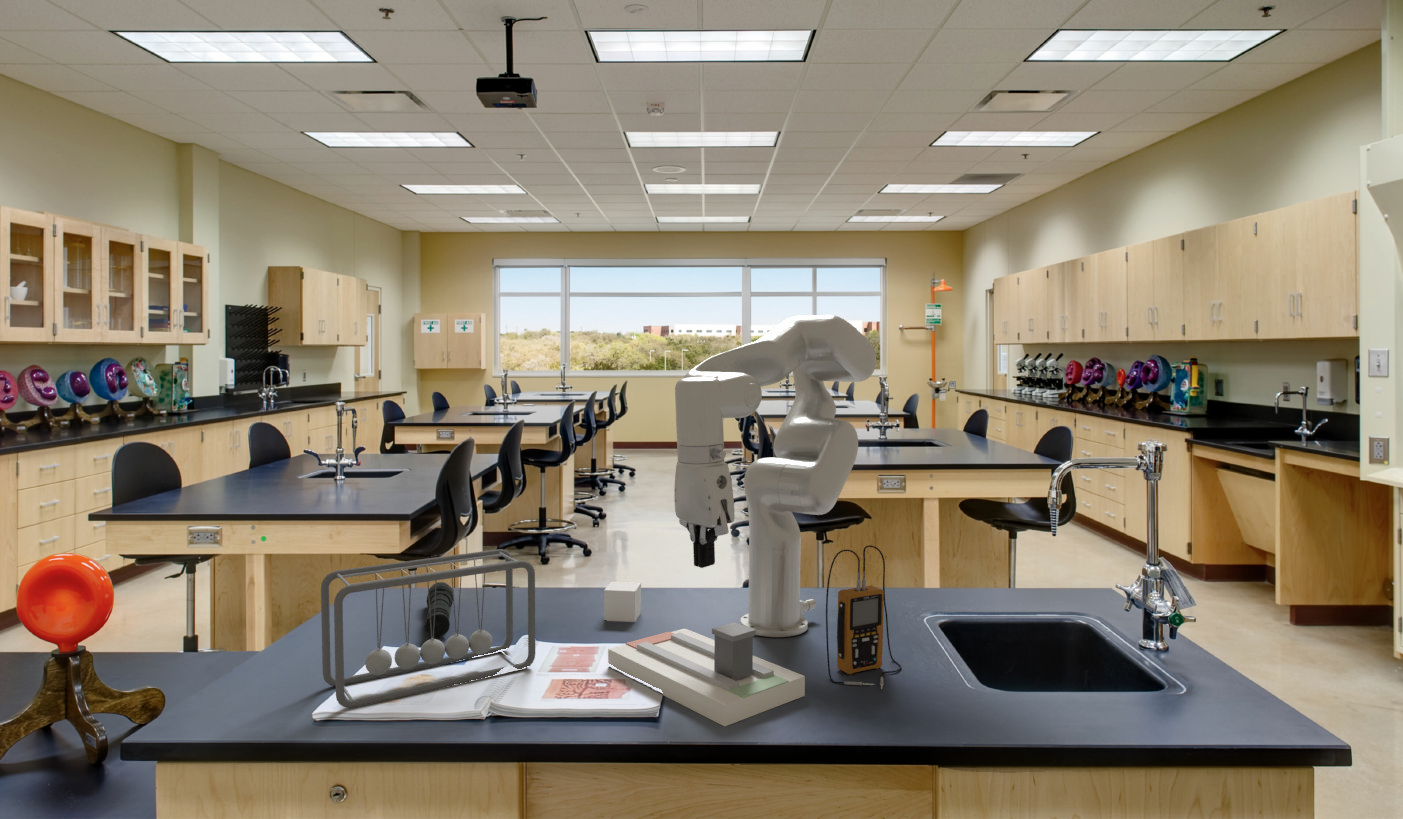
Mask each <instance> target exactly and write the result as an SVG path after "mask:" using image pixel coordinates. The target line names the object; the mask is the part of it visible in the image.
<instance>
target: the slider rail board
mask: <svg viewBox="0 0 1403 819" xmlns="http://www.w3.org/2000/svg"><path fill="white" fill-rule="evenodd" d="M607 650H608V651H607V662H608V663H609V664H611V665H613V666H614V667H616V668H617V669H619V670H621V671H623V672H625V673H627V674H629V675H631V676H633V677H635V678H638V679H640V680H642V681H644V682H646V683H648V684H650V685H652V686H653V687H656V688H659V689H661V690H662V692H663V695H662V696H663V697H666V698H668V699H669V700H672V701H674V702H676V703H678V704H680V705H681V706H684V707H686V708H687V709H689V710H692V711H694V712H695V713H697V714H700V715H701V716H703V717H705V718H707V719H709V720H711V721H713V722H715V723H717V724H719V725H721V726H723V727H727V726H730V725H732V724H733V725H734V724H735V723H737V722H739V721H740V722H741V721H743V720H746V719H748V718H750V717H751V718H752V717H753V716H755V715H759V714H761V713H763V712H766V711H769V710H771V709H775V708H776V707H779V706H782V705H785V704H787V703H789V702H792V701H794V700H797V699H800V698H802V697H805V695H806V694H805V693H806V692H805V691H806V690H805V689H806V687H805V686H806V681H805V680H806V677H805V675H804V674H801V673H798V672H796V671H793V670H790V669H788V668H785V667H783V666H780V665H778V664H776V663H773V662H771V661H767V660H766V659H763V658H761V657H758V656H756V655H753V674H752V675H750V676H748V677H745V678H742V679H739V680H736V681H735V680H733V679H730V678H728V677H726V676H724V675H721V674H719V673H717V672H715V671H714V655H715V639H714V638H710V637H707V636H705V635H703V634H700V633H698V632H694V631H692V630H690V629H687V628H680V629H677V630H673V631H665V632H662V633H659V634H655V635H650V636H647V637H643V638H640V639H636V640H633V641H628V642H625V644H622V645H618V646H614V647H610V648H608V649H607ZM608 663H607V664H608Z"/></svg>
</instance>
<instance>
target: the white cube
mask: <svg viewBox="0 0 1403 819" xmlns="http://www.w3.org/2000/svg"><path fill="white" fill-rule="evenodd" d="M603 594H604V596H603V600H604V602H603V608H604V609H603V610H604V611H603V615H604V616H603V617H604V618H603V621H604V620H607V621H606V622H623V623H624V622H627V623H636V622H637V620H638V618H639V617H640V615H641V614H642V582H631V581H629V582H628V581H625V582H624V581H610V583H609V584H608V585H607V586H606V587H605V588H604V590H603Z"/></svg>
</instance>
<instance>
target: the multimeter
mask: <svg viewBox="0 0 1403 819" xmlns="http://www.w3.org/2000/svg"><path fill="white" fill-rule="evenodd" d="M867 548H874V549H876V550H877V551H878V552H879V554H880V555H881V559H882V566H883V569H882V570H883V571H882V588H880V587H877V586H874V585H872V584H871V585H867V583H866V582H867V581H866V549H867ZM843 552H849V553H853V554H854V556H855V557H856V558H857V567H858V568H857V580H856V587H853V588H847V589H846V588H845V589H840V590H839V591H838V592H837V621H836V622H837V624H836V625H837V627H836V629H837V630H836V631H837V632H836V641H837V642H836V643H837V644H836V645H837V649H836V650H837V654H836V655H837V657H836V658H837V660H836V661H837V662H836V668H837V670H839V671H842V672H843V673H846V674H847V675H853V674H855V673H859V672H865V671H869V670H872V669H874V670H878V669H880V668H881V667H882V666H883V642H884V613H885V624H886V638H887V639H886V640H887V648H888V652H889V656H890V659H891V660H892V661H894V662H893V663H895V664H896V665H897V664H898V665H899V666H898V665H897V666H898V667H899V668H898V669H896V670H891V671H890V670H889V671H882V672H881V673H880V678H879V679H880V680H879V686H880V689H881V690H883V686H884V677H883V675H884V674H892V673H893V674H894V673H897V672H899V671H902V665H901V664H900V663H898V661H896V660H895V659H894V658H893V655H892V651H891V645H890V638H889V637H890V636H889V623H888V611H887V603H886V594H885V593H886V591H885V590H886V586H885V580H886V579H885V576H886V573H885V572H886V564H885V563H886V561H885V558H884V555H883V552H882V551H881V550H880V549H879V548H878V547H877V546H874V545H866V546H865V547H864V548H863V551H862V552H863V556H862V557H863V559H862V560H863V567H862V568H863V569H862V580H861V572H860V567H861V566H860V565H861V564H860V563H861V562H860V561H861V560H860V557H859V555H858V554H857V553H856V552H855V551H854V550H851V549H842V550H840V551H838V552H837V553H836V555H834V557H833V559H832V561H831V565H830V568H829V571H828V572H829V573H828V578H827V585H826V594H825V595H826V596H825V597H826V598H825V601H826V602H825V632H826V634H825V635H826V637H825V638H826V658H827V669H828V677H829V679H830V681H831V682H832V683H834V684H840V685H848V686H849V685H850V686H861V687H862V686H863V685H864V686H865V685H866V686H875V685H876V684H874V683H866V682H865V683H864V682H863V681H835V680H833V677H832V675H831V667H830V651H829V649H830V648H829V624H828V622H829V621H828V606H829V588H830V581H831V580H830V579H831V576H832V575H831V573H832V570H833V566H834V563H835V561H836V559H837V557H838V556H839V555H840V554H841V553H843Z"/></svg>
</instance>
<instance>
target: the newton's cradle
mask: <svg viewBox="0 0 1403 819" xmlns="http://www.w3.org/2000/svg"><path fill="white" fill-rule="evenodd" d="M499 557H503V558H504V560H505V561H504V562H497V563H491V564H490V563H489V564H484V563H482V562H480V561H478V560H484V559H493V558H499ZM470 561H473V564H474V566H468V567H462V568H461V567H459V566H458V565H456V563H460V562H461V563H463V562H470ZM476 562H478V563H479V564H481V565H476ZM448 564H450V569H446V570H440V571H436V570H434V569H433V568H431V567H433V566H438V565H448ZM452 566H455V567H457V568H455V569H454V568H453V567H452ZM419 568H426V572H425V573H419V574H413V575H410V574H409V573H408V572H406V571H405V570H410V569H419ZM429 569H430V570H431V571H432V572H429ZM515 569H525V570H526V571H527V620H528V621H527V627H528V628H527V630H528V631H527V636H528V638H527V642H528V644H527V647H528V650H527V653H528V655H527V658H526V659H525V660H524V661H523V662H520V663H519V664H515V663H514V664H512V665H513V667H515V668H517V669H522V668H524V667H527V666H529V667H531V665H532V664H533V663H534V661H535V659H536V570H535V568H534V566H533V564H531V563H530V562H529V561H527V560H516V559H515V558H513V557H512V555H511V553H510V552H509V551H508V550H506V549H502V548H501V549H500V548H497V549H490V550H483V551H475V552H467V553H459V554H454V555H452V554H451V555H446V556H439V557H438V556H436V557H431V558H423V559H416V560H407V561H401V562H400V561H399V562H392V563H385V564H378V565H377V564H376V565H369V566H361V567H355V568H354V567H353V568H347V569H340V570H338V569H337V570H334V571H331V572H330V573H328V574H327V575H326V576H325V577H324V578H323V580H322V582H321V586H320V605H321V606H320V612H321V618H320V619H321V650H322V652H321V653H322V654H321V655H322V656H321V657H322V677H323V680H324V681H325V683H326V684H328V685H329V686H331V687H332V686H333V687H335V697H336V698H335V699H336V701H337V702H338V704H339V705H340V706H341V707H343V708H346V709H354V707H355V708H359V706H360V707H362V706H363V707H364V706H368V705H374V704H377V703H381V702H386V701H390V700H396V699H400V698H405V697H408V696H413V694H414V695H418V694H421V693H422V694H423V693H425V692H431V690H432V691H436V690H440V689H439V688H441V689H444V688H443V687H445V688H448V687H447V686H450V687H453V686H452V685H454V684H459V685H461V684H460V683H463V684H466V683H465V682H468V683H470V682H469V681H471V680H476V679H481V678H485V677H488V676H493V675H495V674H497V672H499V671H500V670H501V669H503V668H504V667H505V666H503V667H501V666H500V667H497V668H493V669H489V670H484V671H480V672H479V671H478V672H474V673H470V674H469V673H468V674H466V675H460V676H457V677H456V676H455V677H452V678H447V679H442V680H439V681H438V680H437V681H433V682H428V683H424V684H419V685H416V686H415V685H414V686H411V687H410V686H409V687H406V688H405V687H404V688H400V689H397V690H391V691H388V692H384V693H383V692H382V693H377V694H374V695H368V696H363V697H360V698H354V699H353V698H352V695H351V694H350V693H349V692H348V689H347V688H346V687H345V686H346V685H352V684H357V683H361V682H367V681H371V680H376V679H382V678H385V677H391V676H394V675H400V674H401V675H402V674H406V673H410V672H414V671H415V672H416V671H420V670H425V669H429V668H433V667H439V665H440V666H443V664H445V665H448V664H447V663H449V664H452V663H451V662H454V663H457V662H456V661H459V660H463V659H469V658H472V657H474V656H478V655H484V654H488V653H493V652H496V651H498V650H501V649H506V648H508V649H509V648H510V647H511V645H512V643H513V640H514V599H513V598H514V595H513V594H514V593H513V592H514V590H513V589H514V587H513V586H514V585H513V582H514V581H513V580H514V577H513V575H514V574H513V570H515ZM396 571H401V576H397V577H389V578H383V577H382V576H380V575H379V574H380V573H382V574H383V573H388V572H396ZM501 571H505V623H506V625H505V628H506V629H505V630H506V631H505V632H506V634H505V635H506V636H505V642H504V643H502V644H501V645H499V646H495V647H492V646H493V641H494V640H493V636H492V634H491V633H490V632H488V631H487V630H484V629H483V615H484V603H485V602H484V601H485V599H484V598H485V582H486V574H488V573H494V572H501ZM403 573H406V575H404V576H403ZM482 574H483V584H482V585H483V587H482V588H483V591H482V605H481V618H480V612H479V611H480V610H479V596H478V594H479V593H478V583H477V575H482ZM367 575H375V576H374V577H375V580H371V581H370V580H369V581H363V582H361V581H360V582H355V583H349V582H348V581H347V580H346V578H353V577H354V578H355V577H359V576H367ZM473 575H474V579H475V588H476V589H475V591H476V593H475V594H476V606H477V617H478V630H475V631H474V632H473V633H472V634H471V635H470V637H469V638H467V637H466V636H464V635H462V634H460V633H459V626H460V609H461V608H460V607H461V590H462V577H469V576H473ZM377 576H378V577H380V579H377V578H378V577H377ZM454 578H460V579H459V595H458V610H457V612H458V614H457V618H456V605H455V604H456V603H455V593H454V592H455V591H454V580H453V579H454ZM335 579H339V580H340V581H342V583H343V584H344V585H345V586H344V587H342V588H341V589H340V590H339V591H337V593H336V595H335V598H334V601H333V622H334V625H333V626H334V627H333V628H334V632H333V633H334V667H335V670H334V673H335V674H334V675H335V676H332V667H331V665H332V663H331V657H332V656H331V619H330V618H331V617H330V616H331V615H330V614H331V613H330V585H331V583H332V582H333V580H335ZM446 579H447V580H448V579H451V588H452V590H453V603H452V605H453V616H454V629H455V630H454V631H455V634H453V635H451V636H450V637H448V639H447V640H446V641H445V644H444V643H443V642H442V641H441V640H439V639H436V638H435V637H434V625H435V604H436V584H437V583H438V581H441V580H446ZM429 582H435V583H434V584H435V603H434V624H433V636H432V626H431V612H430V597H429V589H430V583H429ZM419 583H427V595H428V598H429V612H430V627H431V635H430V639H428V640H426V641H424V642H423V643H422V645H421V647H420V649H419V647H418V646H417V645H415V644H414V643H413V644H412V643H409V642H410V641H409V640H410V639H409V638H410V616H411V593H412V585H414V584H419ZM407 585H408V586H409V598H408V600H409V602H408V621H406V620H407V619H406V618H407V617H406V605H405V591H404V586H407ZM400 586H402V602H403V614H404V616H403V617H404V630H405V644H402V645H401V646H399V647H398V648H397V649H396V651H395V653H394V662H395V664H396V666H395V667H391V666H392V662H393V657H392V655H391V653H390V652H389V651H388V650H386V649H383V648H381V643H382V640H381V639H382V625H383V614H384V612H383V610H384V598H385V597H384V596H385V589H386V588H395V587H400ZM380 589H382V596H381V597H382V600H381V612H380V614H381V615H380V626H379V612H378V590H380ZM372 590H375V601H376V603H375V604H376V632H377V633H376V634H377V636H376V637H377V639H376V640H377V648H376V649H374V650H372V651H371V652H369V654H368V655H367V657H366V658H365V666H364V667H365V669H366V670H367V671H368V672H366V673H365V672H364V673H361V674H360V673H359V674H357V675H356V674H355V675H351V676H350V675H349V676H345V656H344V654H345V653H344V649H345V648H344V646H345V645H344V605H343V602H344V599H345V598H346V597H347V595H349V594H353V593H360V592H367V591H372ZM456 620H457V621H456ZM480 620H481V622H480ZM407 622H408V623H407ZM480 623H481V624H480ZM407 625H408V626H407ZM379 627H380V628H379ZM379 629H380V631H379ZM468 639H469V640H468ZM469 649H470V651H469ZM445 654H446V655H447V656H445ZM444 656H445V657H444ZM420 659H421V660H422V661H420ZM469 660H470V659H469ZM419 661H420V662H419ZM459 662H460V661H459ZM481 680H482V679H481ZM454 686H455V685H454ZM435 689H436V690H435Z"/></svg>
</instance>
